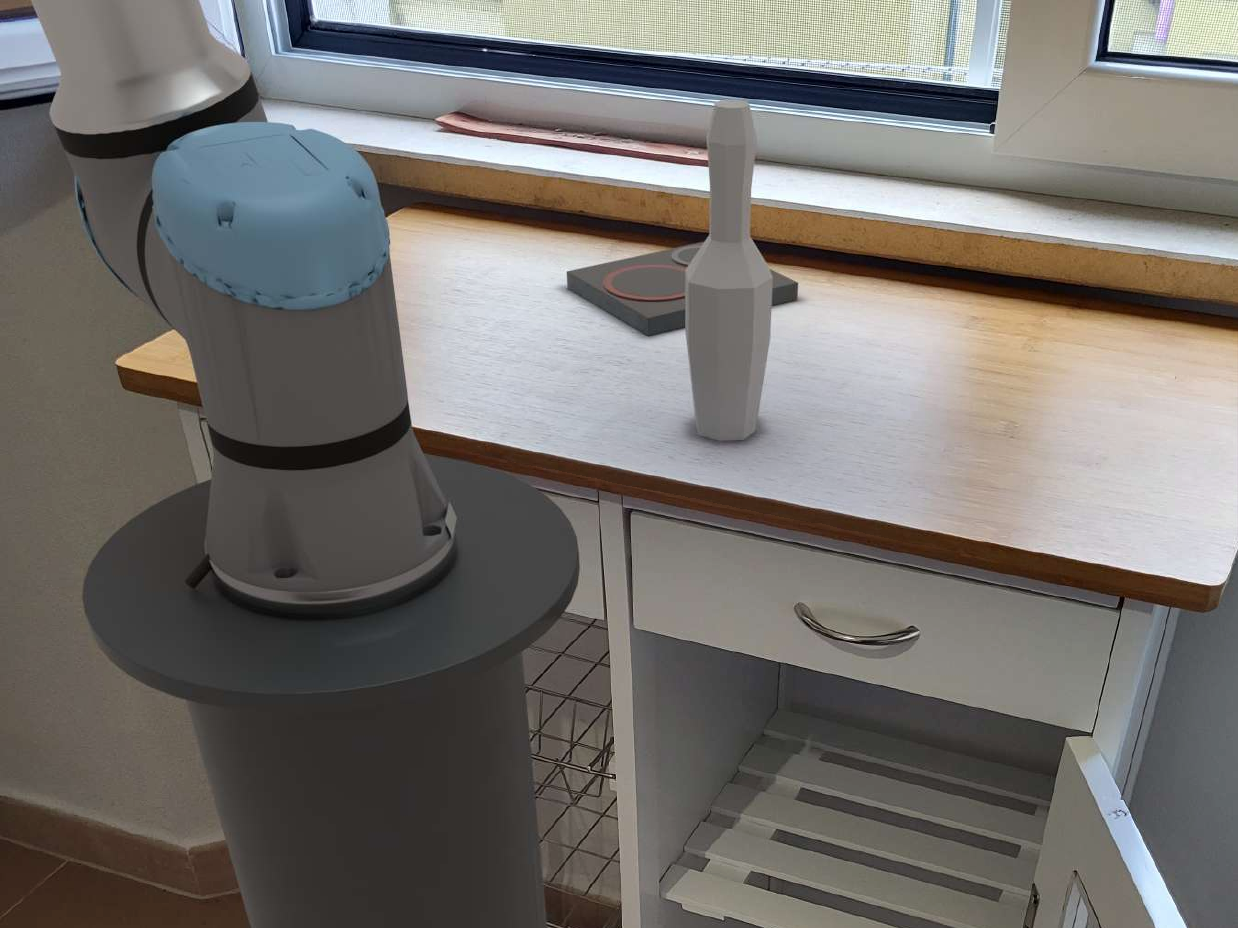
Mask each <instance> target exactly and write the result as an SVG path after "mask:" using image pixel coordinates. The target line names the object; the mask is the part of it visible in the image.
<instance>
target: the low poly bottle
mask: <svg viewBox="0 0 1238 928" xmlns="http://www.w3.org/2000/svg"><path fill="white" fill-rule="evenodd" d="M750 105H751V104H750V103H749V101H748V100H743V99H735V98H734V99H721V100H718V101H715V102H714V105H713V109H712V113H711V117H710V120H709V125H708V128H707V132H706V137H705V138H706V149H707V150H706V151H707V165H708V180H709V226H708V227H709V228H708V229H709V231H708V236H707V237H706V239H705V240H704V241H703V242H704V243H703V245H702V246H701V248H700V249H699V251H698V252H697V254H696V255H695V257H694V258H693V260H692V261H691V263H690V264H689V265H688V267H687V268H686V270H685V327H684V330H685V338H686V339H685V341H686V348H687V357H688V366H689V367H688V368H689V374H690V383H691V384H690V385H691V393H692V401H693V409H694V410H693V411H694V419H695V428H696V431H697V435H698V436H700V437H704V438H707V439H710V440H715V441H719V442H721V441H743V440H746V439H747V438H748V437H750V436H751V435H752V434H754V433H755V432H756V431H757V425H758V418H759V413H760V406H761V399H762V393H763V386H764V380H765V373H766V368H767V360H768V354H769V349H770V344H771V343H770V341H771V333H772V332H771V330H772V309H773V308H772V284H773V277H772V274H771V272H770V269H771V268H770V267H769V264H768V262H767V261H766V260H765V258H764V257H763V255H762V253H761V251H760V250H759V249H758V247H757V245H756V244H755V242H754V240H753V238H752V237H751V217H752V216H751V212H752V186H753V176H754V168H755V159H756V151H757V142H758V139H757V134H756V128H755V125H754V119H753V115H752V111H751V110H752V109H751V106H750Z"/></svg>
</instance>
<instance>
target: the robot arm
mask: <svg viewBox="0 0 1238 928" xmlns="http://www.w3.org/2000/svg"><path fill="white" fill-rule="evenodd" d="M30 1H31V4H32V6H33V9H34V11H35V13H36V16H37V18H38V21H39V24H40V26H41V28H42V30H43V33H44V35H45V38H46V40H47V43H48V45H49V48H50V50H51V52H52V54H53V57H54V59H55V62H56V64H57V67H58V69H59V71H60V81H59V83H58V86H57V89H56V91H55V94H54V96H53V100H52V103H51V105H50V108H49V112H48V113H49V117H50V120H51V122H52V125H53V127H54V129H55V132H56V134H57V136H58V138H59V140H60V144H61V145H62V148H63V150H64V153H65V155H66V158H67V160H68V162H69V164H70V167H71V169H72V171H73V173H74V193H75V200H76V205H77V209H78V213H79V217H80V219H81V223H82V226H83V229H84V231H85V233H86V236H87V238H88V240H89V242H90V243H91V246H92V247H93V249H94V251H95V253H96V254H97V256H98V258H99V259H100V261H101V262H102V264H103V265H104V266H105V268H106V269H107V270H108V272H109V273H110V274H111V275H112V276H113V277H114V278H115V280H117V281H118V282H119V283H120V284H122V286H123V288H125V289H126V290H128V291H129V292H130V293H132V294H133V295H134V296H135V297H136V298H138V299H139V300H141V301H142V302H143V303H145V304H146V305H147V306H148V307H149V308H150V309H151V310H152V311H154V313H156V314H157V315H158V316H159V317H160V318H161V319H162V320H163V321H164V322H166V323H167V324H168V325H169V326H170V327H171V328H172V329H173V330H174V331H175V332H176V333H177V334H178V335H179V336H180V337H181V338H183V339H184V340H185V343H186V346H187V348H188V352H189V354H190V358H191V363H192V367H193V371H194V375H195V380H196V384H197V389H198V392H199V396H200V402H201V405H202V409H203V414H204V418H205V420H206V426H207V429H208V434H209V439H210V443H211V447H212V453H213V454H212V455H213V459H212V468H211V478H210V479H211V487H210V497H209V507H208V517H207V527H206V538H205V552H206V556H205V557H204V559H203V560H202V561H201V562H200V564H199V565H198V566H197V567H196V568H195V569H194V571H193V572H192V573H191V574H190V575H189V576H188V577H187V578H186V580H185V583H186V584H187V585H188V586H190V587H191V588H193V589H195V587H196V586H197V585H198V584H199V583H200V582H201V581H202V580H203V578H204V577H205V576H206V575H207V574H208V573H209V571H210V572H211V576H212V580H213V582H214V584H215V586H216V587H217V589H218V590H219V591H220V592H221V593H222V594H223V595H224V596H225V597H226V598H227V599H229V600H230V601H232V602H233V603H235V604H237V605H239V606H241V607H243V608H245V609H248V610H251V611H253V612H257V613H260V614H264V615H268V616H273V617H279V618H287V619H297V620H329V619H340V618H348V617H355V616H360V615H365V614H370V613H374V612H378V611H382V610H385V609H388V608H391V607H394V606H397V605H400V604H402V603H405V602H407V601H409V600H411V599H413V598H415V597H417V596H419V595H421V594H423V593H424V592H426V591H428V590H429V589H431V588H432V587H434V586H435V585H436V584H437V583H439V582H440V581H441V580H442V579H443V578H444V577H445V576H446V575H447V574H448V572H449V571H450V570H451V568H452V567H453V565H454V563H455V560H456V557H457V552H458V550H457V539H456V531H455V524H456V519H457V517H456V515H455V512H454V510H453V508H452V506H451V504H450V501H449V506H448V504H447V502H446V500H445V498H444V496H443V494H442V491H441V489H440V487H439V485H438V483H437V481H436V479H435V477H434V475H433V473H432V471H431V469H430V467H429V464H428V462H427V460H426V458H425V456H424V455H425V454H424V452H423V450H422V448H421V446H420V444H419V442H418V439H417V438H416V435H415V433H414V430H413V424H412V418H411V411H410V402H409V393H408V386H407V379H406V371H405V363H404V362H405V361H404V355H403V354H404V353H403V348H402V347H403V346H402V338H401V331H400V323H399V315H398V308H397V307H398V306H397V300H396V292H395V284H394V278H393V269H392V261H391V260H392V259H391V250H390V249H391V248H390V246H391V238H390V236H391V235H390V234H391V233H390V227H389V221H388V219H387V217H386V216H385V210H384V208H383V206H382V202H381V196H380V191H379V187H378V183H377V182H378V181H377V179H376V177H375V173H374V172H373V170H372V168H371V167H370V165H369V163H368V161H366V159H364V157H363V156H362V155H361V154H360V152H358V151H357V150H356V149H355V148H354V147H352V146H351V145H349V144H348V143H347V142H345V141H343V140H341V139H340V138H339V137H336V136H334V135H331V134H329V133H326V132H323V131H320V130H317V129H314V128H306V129H297V128H296V127H295V126H294V125H293V124H287V123H283V122H271V121H268V118H267V115H266V111H265V109H264V106H263V103H262V100H261V97H260V94H259V91H258V89H257V85H256V82H255V79H254V76H253V73H252V71H251V70H252V69H251V67H250V65H249V64H250V63H249V62H248V60H247V59H246V58H245V57H244V56H242V55H241V54H240V53H238V52H236V51H235V50H234V49H232V48H230V47H229V46H227V45H225V44H224V43H222V42H221V41H220V40H218V39H217V38H216V37H215V36H214V35H213V34H212V33H211V30H210V27H209V25H208V22H207V19H206V16H205V12H204V10H203V7H202V5H201V1H200V0H30Z"/></svg>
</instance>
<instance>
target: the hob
mask: <svg viewBox="0 0 1238 928" xmlns="http://www.w3.org/2000/svg"><path fill="white" fill-rule="evenodd" d="M704 242H705V241H701V242H697V243H691V244H687V245H682V246H677V247H673V248H669V249H664V250H659V251H654V252H650V253H646V254H640V255H636V256H632V257H631V256H630V257H626V258H623V259H618V260H613V261H608V262H603V263H598V264H595V265H590V266H586V267H581V268H576V269H572V270H571V269H570V270H567V271H566V288H567V289H568V290H570V291H571V292H574V293H575V294H576V295H578V296H580V297H582V298H583V299H585V300H587V301H588V302H590V303H592V304H593V305H596V306H597V307H599V308H600V309H602V310H604V311H606V312H608V313H609V314H610V315H612V316H614V317H615V318H617V319H619V320H621V321H623V322H624V323H626V324H627V325H629V326H631V327H633V328H634V329H636V330H638V331H640V332H641V333H643V334H645V335H646V336H648V337H649V336H653V335H656V334H662V333H666V332H669V331H673V330H679V329H682V328H685V270H686V268H687V267H688V265H689V264H690V263H691V261H692V260H693V258H694V257H695V255H696V254H697V252H698V251H699V249H700V248H701V246H702V245H703V243H704ZM769 269H770V272H771V274H772V277H773V284H772V306H776V305H780V304H784V303H788V302H789V303H790V302H792V301H797V300H798V299H799V298H798V296H799V282H798V281H796V280H794V279H792V278H789V276H785V275H783V274H781V273H779V272H778V271H775V270H773V269H772V268H769Z"/></svg>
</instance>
